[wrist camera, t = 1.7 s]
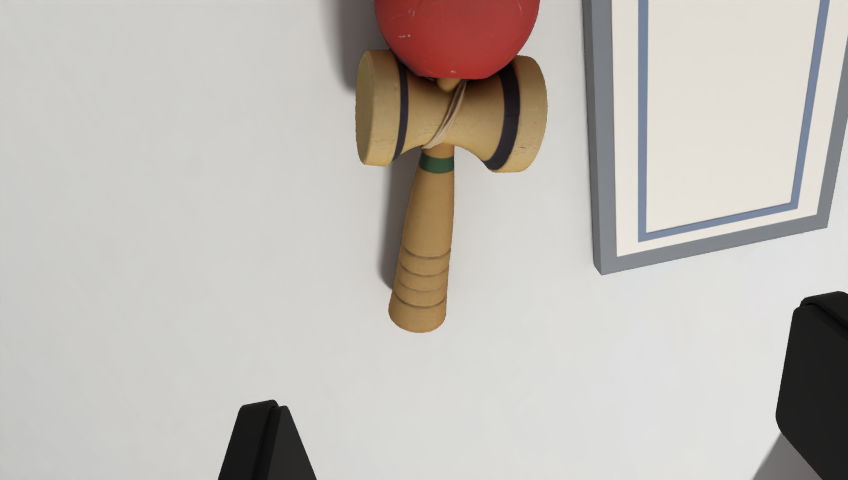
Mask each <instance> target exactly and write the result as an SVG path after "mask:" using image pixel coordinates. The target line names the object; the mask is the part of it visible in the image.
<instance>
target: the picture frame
mask: <svg viewBox="0 0 848 480" xmlns="http://www.w3.org/2000/svg"><path fill="white" fill-rule="evenodd" d="M583 19H584V42H585V65H586V88H587V111H588V134H589V157H590V180H591V203H592V226H593V249H594V266H595V267H596V269H597V270H598V271H599V273H600V274H601V275H606V274H610V273H615V272H620V271H624V270H629V269H634V268H639V267H643V266H648V265H653V264H657V263H662V262H667V261H672V260H676V259H681V258H686V257H691V256H695V255H700V254H705V253H709V252H714V251H719V250H724V249H728V248H733V247H738V246H742V245H747V244H752V243H757V242H761V241H766V240H771V239H776V238H780V237H785V236H790V235H794V234H799V233H804V232H809V231H813V230H818V229H823V228H827V225H828V220H829V214H830V209H831V204H832V199H833V193H834V188H835V183H836V177H837V172H838V167H839V161H840V156H841V151H842V145H843V140H844V135H845V129H846V124H847V119H848V0H583Z"/></svg>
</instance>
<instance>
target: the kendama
mask: <svg viewBox="0 0 848 480" xmlns="http://www.w3.org/2000/svg"><path fill="white" fill-rule="evenodd" d="M539 3H540V0H374V6H375V12H376V17H377V21H378V25H379V28H380V31H381V33H382V35H383V37H384V39H385V41H386V43H387V45H388V46H389V48H390V49H389V50H367V51H366V52H365V53H364V54H363V55H362V57H361V60H360V63H359V68H358V74H357V84H356V106H355V112H356V114H355V120H356V141H357V149H358V155H359V157H360V160H361V162H362V163H363V164H365V165H374V166H387V165H389V164H390V163H391V162H392V161H394V160H395V159H396V158H397V157H398V156H399V155H401V154H402V153H404V152H406V151H407V150H409V149H411V148H414V147H416V146H420V145H421V148H422V154H421V156H420V160H419V164H418V167H417V171H416V175H415V179H414V182H413V186H412V190H411V193H410V198H409V203H408V207H407V212H406V216H405V221H404V227H403V233H402V241H401V245H400V251H399V258H398V263H397V268H396V273H395V279H394V286H393V290H392V294H391V299H390V303H389V309H388V311H389V316H390V318H391V320H392V321H393V322H394V323H395V324H396V325H397V326H399V327H400V328H402V329H404V330H407V331H410V332H415V333H425V332H430V331H432V330H435V329H437V328H438V327H439V326H440V325H441V324H442V323H443V322H444V320H445V316H446V303H447V286H448V272H449V260H450V252H451V242H452V231H453V216H454V145H456V146H460V147H462V148H464V149H466V150H468V151H469V152H471V153H473V154H474V155H476V156H477V157H478V158H479V159H480V160H481V161H482V162H483V163H484V164H485V166H486V167H487V168H488V169H489V170H490V171H492V172H495V173H505V172H521V171H523V170H525V169H526V168H528V167H529V166H530V165H531V163H532V162H533V161H534V159H535V157H536V155H537V153H538V151H539V149H540V146H541V143H542V140H543V136H544V133H545V128H546V121H547V107H548V105H547V91H546V86H545V80H544V77H543V74H542V72H541V69H540V67H539V65H538V64H537V62H536V61H535V60H534V59H533V58H531V57H528V56H520V55H517V54H518V52H519V51H520V50H521V48H522V47H523V46H524V44H525V42H526V41H527V39H528V38H529V36H530V34H531V32H532V29H533V27H534V24H535V22H536V18H537V15H538V10H539Z"/></svg>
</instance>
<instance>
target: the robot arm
mask: <svg viewBox="0 0 848 480" xmlns="http://www.w3.org/2000/svg"><path fill="white" fill-rule="evenodd" d="M776 421H777V424H778V427H779V429H780V431H781V432H782V434H783V435H784V436H785V437H786V438H787V440H788V441H789V442H790V443H791V444H792V445H793V446H794V448H795V449H796V450H797V451H798V452H799V453H800V454H801V456H802V457H803V458H804V459H805V460H806V461H807V463H808V464H809V465H810V466H811V467H812V468H813V469H814V471H815V472H816V473H817V474H818V475H819V476H820V478H822V480H848V294H847V293H845V292H841V291H836V292H831V293H826V294H821V295H815V296H810V297H807V298H804V299H803V300H802V301H801V304H800V306H799V307H798V308H796V309H795V310H794V312H793V316H792V322H791V327H790V333H789V339H788V345H787V350H786V356H785V362H784V368H783V374H782V379H781V385H780V391H779V397H778V402H777V408H776ZM218 480H317V479H316V476H315V474H314V471H313V469H312V466H311V464H310V461H309V459H308V456H307V454H306V451H305V449H304V446H303V444H302V441H301V439H300V436H299V433H298V431H297V428H296V426H295V423H294V421H293V418H292V416H291V413H290V411H289V409H288V407H287V406H280V407H279V406H278V404H277V402H276V401H275V400H268V401H263V402H257V403H252V404H247V405H243V406H242V407H241V408H240V410H239V412H238V416H237V419H236V422H235V425H234V429H233V432H232V435H231V438H230V442H229V445H228V448H227V451H226V455H225V458H224V461H223V464H222V468H221V471H220V474H219V477H218Z"/></svg>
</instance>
